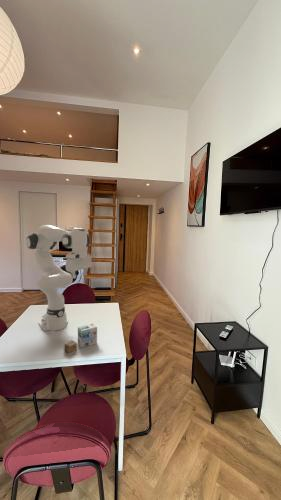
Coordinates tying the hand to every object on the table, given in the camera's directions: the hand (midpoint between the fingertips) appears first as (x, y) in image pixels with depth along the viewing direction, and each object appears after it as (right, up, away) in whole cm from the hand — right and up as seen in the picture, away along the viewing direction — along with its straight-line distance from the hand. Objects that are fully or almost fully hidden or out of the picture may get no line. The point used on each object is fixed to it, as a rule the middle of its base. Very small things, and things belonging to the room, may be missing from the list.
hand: (79, 276), depth 135 cm
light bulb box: (+4, -43, +3) cm, 43 cm away
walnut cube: (-4, -43, -6) cm, 44 cm away
